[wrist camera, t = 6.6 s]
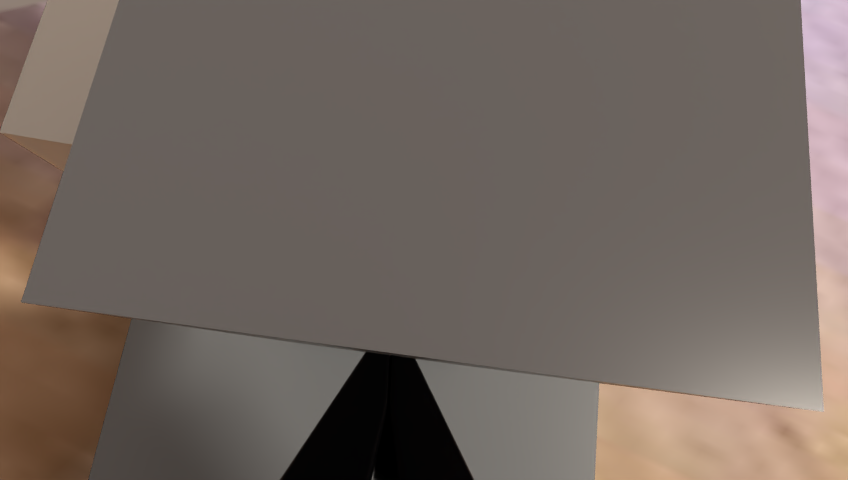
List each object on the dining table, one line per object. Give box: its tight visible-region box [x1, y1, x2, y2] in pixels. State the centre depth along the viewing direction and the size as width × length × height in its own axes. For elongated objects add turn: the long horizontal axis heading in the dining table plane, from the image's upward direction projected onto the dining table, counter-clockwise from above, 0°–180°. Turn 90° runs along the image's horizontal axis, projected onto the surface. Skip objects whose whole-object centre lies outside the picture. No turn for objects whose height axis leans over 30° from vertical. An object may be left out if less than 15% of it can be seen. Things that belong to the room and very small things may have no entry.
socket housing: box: [0, 0, 599, 480], centre depth 11 cm, size 19×14×9 cm
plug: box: [21, 0, 824, 412], centre depth 10 cm, size 6×5×12 cm
